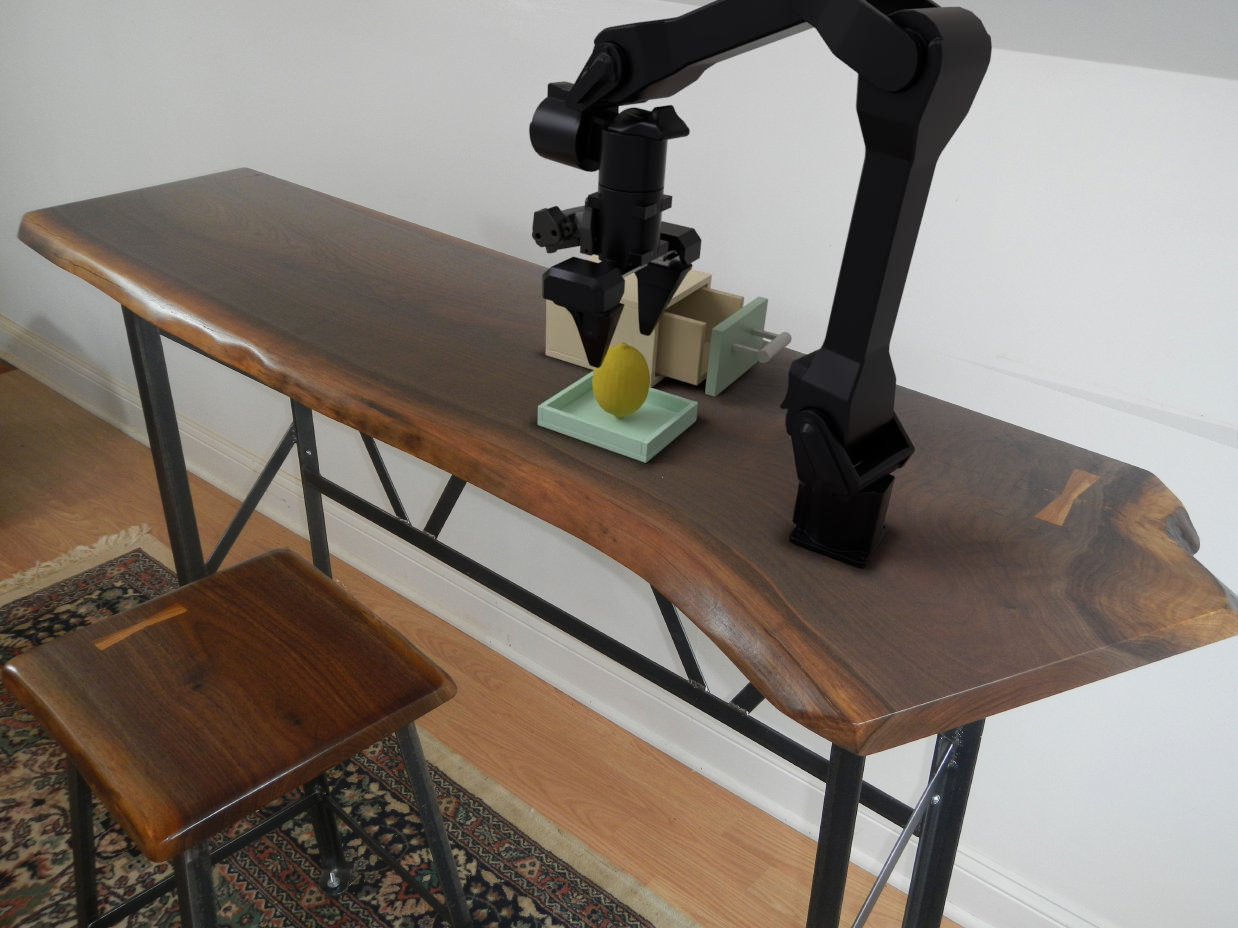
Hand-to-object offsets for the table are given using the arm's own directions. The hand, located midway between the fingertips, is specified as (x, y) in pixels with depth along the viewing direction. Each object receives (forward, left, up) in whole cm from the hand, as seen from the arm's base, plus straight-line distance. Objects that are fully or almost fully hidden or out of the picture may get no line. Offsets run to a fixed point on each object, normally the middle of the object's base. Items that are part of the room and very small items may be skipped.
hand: (621, 350), depth 90 cm
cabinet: (+8, -15, -8) cm, 19 cm away
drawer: (-2, -15, -7) cm, 17 cm away
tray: (0, 0, -8) cm, 8 cm away
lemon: (0, 0, -7) cm, 7 cm away
